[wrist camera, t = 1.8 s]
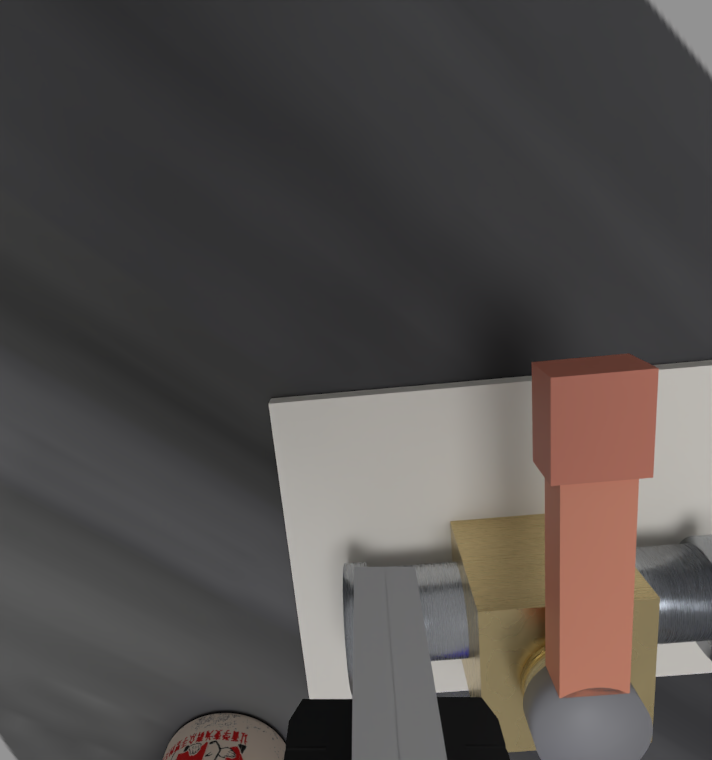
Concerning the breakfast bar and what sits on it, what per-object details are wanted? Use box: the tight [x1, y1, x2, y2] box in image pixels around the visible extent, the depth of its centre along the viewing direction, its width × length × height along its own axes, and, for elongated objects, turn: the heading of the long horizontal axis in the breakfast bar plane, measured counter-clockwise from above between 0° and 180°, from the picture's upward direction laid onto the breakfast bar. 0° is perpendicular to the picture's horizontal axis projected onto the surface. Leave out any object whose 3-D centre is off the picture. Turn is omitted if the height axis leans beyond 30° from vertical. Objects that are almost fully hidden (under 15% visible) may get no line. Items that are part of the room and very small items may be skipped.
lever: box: [523, 354, 659, 760], centre depth 23 cm, size 18×5×2 cm, turn 5°
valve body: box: [343, 514, 712, 752], centre depth 30 cm, size 8×20×9 cm, turn 95°
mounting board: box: [269, 360, 712, 699], centre depth 34 cm, size 20×27×1 cm
